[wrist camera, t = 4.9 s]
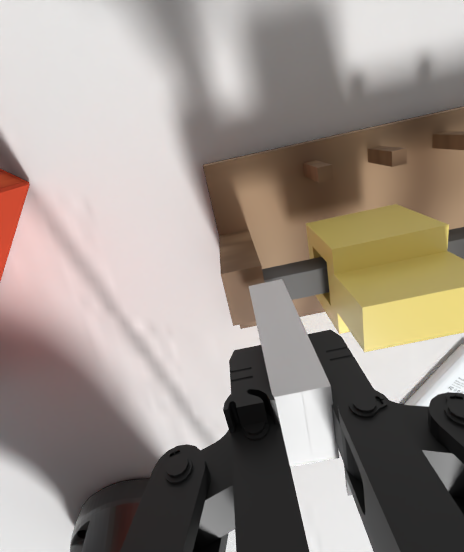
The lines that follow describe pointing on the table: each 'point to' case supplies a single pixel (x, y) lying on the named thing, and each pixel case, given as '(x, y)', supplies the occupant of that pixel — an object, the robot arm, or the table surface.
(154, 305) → the table surface
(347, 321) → the sleeve
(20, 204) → the file binder
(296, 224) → the comb stand
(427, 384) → the external hard drive
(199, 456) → the robot arm
